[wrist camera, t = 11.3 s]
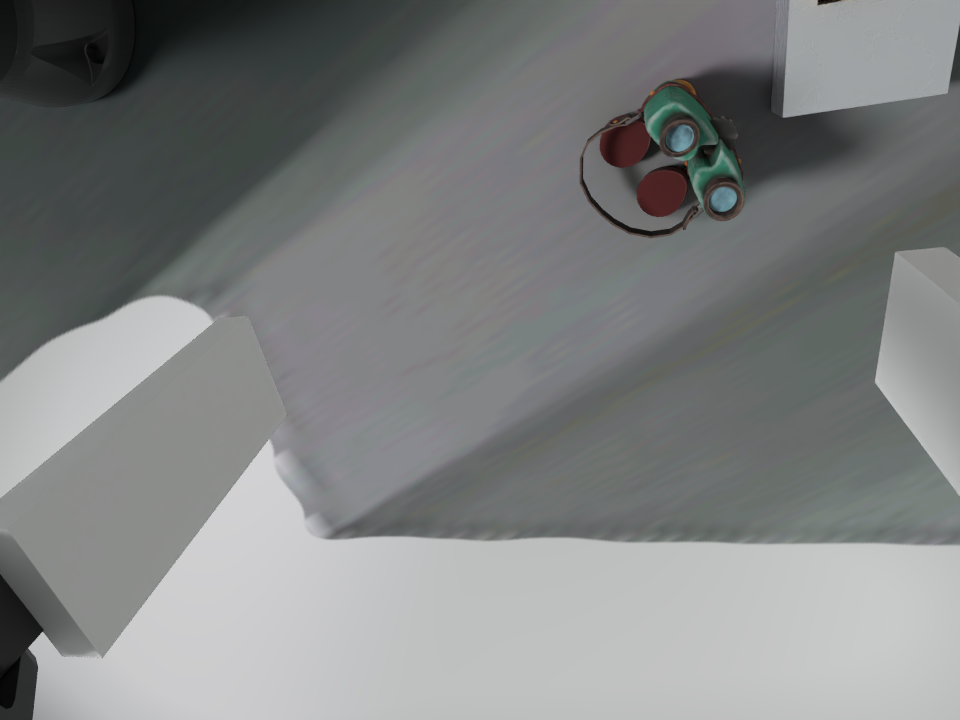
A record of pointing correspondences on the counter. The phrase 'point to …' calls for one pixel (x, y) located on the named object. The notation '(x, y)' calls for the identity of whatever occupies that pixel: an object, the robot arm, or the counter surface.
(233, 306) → the counter surface
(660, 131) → the binoculars
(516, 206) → the counter surface
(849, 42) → the grey board with holes
